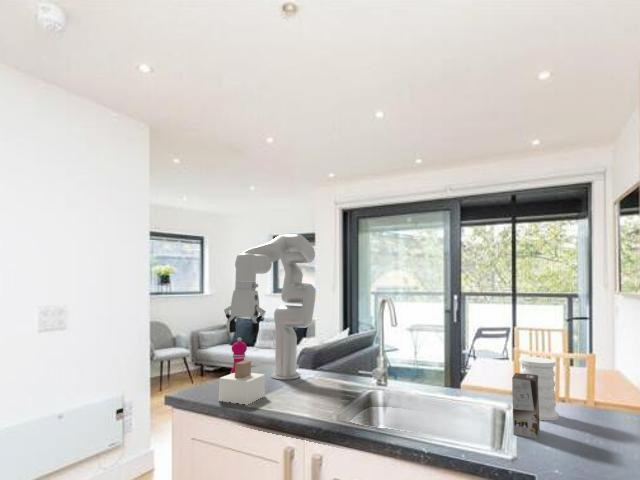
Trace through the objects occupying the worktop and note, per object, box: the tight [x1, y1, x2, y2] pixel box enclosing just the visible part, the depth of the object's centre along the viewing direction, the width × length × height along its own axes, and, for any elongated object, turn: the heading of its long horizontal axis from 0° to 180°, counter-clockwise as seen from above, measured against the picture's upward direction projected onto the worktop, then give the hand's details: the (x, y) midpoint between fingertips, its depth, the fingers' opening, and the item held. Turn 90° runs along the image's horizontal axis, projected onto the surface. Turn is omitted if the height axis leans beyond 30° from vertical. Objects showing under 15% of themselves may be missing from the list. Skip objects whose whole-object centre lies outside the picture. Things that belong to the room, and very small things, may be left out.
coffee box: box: [511, 372, 540, 440], centre depth 123 cm, size 9×6×16 cm
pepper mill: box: [229, 337, 248, 374], centre depth 167 cm, size 7×7×20 cm
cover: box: [218, 360, 266, 406], centre depth 153 cm, size 12×12×13 cm
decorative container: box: [518, 356, 560, 421], centre depth 139 cm, size 12×12×18 cm
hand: (243, 333), depth 154 cm, fingers open, 9 cm apart
